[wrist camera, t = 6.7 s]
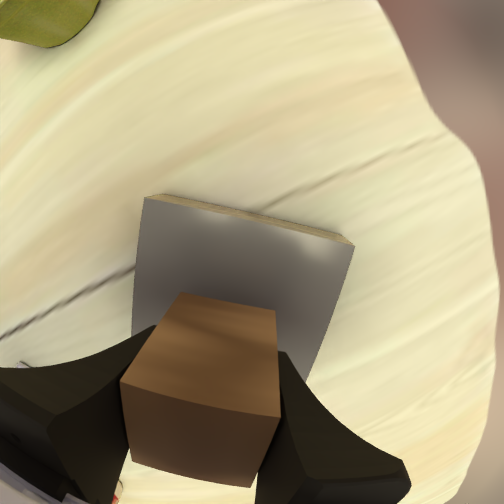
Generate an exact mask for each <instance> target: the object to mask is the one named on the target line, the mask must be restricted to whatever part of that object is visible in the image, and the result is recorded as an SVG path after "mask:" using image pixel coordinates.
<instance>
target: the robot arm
mask: <svg viewBox="0 0 504 504" xmlns="http://www.w3.org/2000/svg"><path fill="white" fill-rule="evenodd" d="M156 326H157V325H152V326H150V327H148V328H146V329H145V330H143V331H141V332H139V333H138V334H136V335H134V336H132V337H130V338H128V339H127V340H125V341H123V342H121V343H119V344H117V345H114V346H112V347H110V348H108V349H106V350H104V351H101V352H99V353H96V354H94V355H91V356H88V357H85V358H82V359H79V360H75V361H71V362H66V363H62V364H57V365H52V366H44V367H34V368H30V367H28V366H26V365H24V364H23V363H21V362H19V363H17V368H1V367H0V504H112V501H113V497H114V494H115V490H116V487H117V483H118V480H119V476H120V473H121V470H122V467H123V464H124V461H125V458H126V455H127V453H128V450H129V443H128V437H127V432H126V426H125V420H124V413H123V406H122V398H121V390H120V380H121V378H122V377H123V375H124V374H125V372H126V371H127V369H128V368H129V366H130V365H131V363H132V362H133V360H134V359H135V357H136V356H137V354H138V353H139V351H140V350H141V348H142V347H143V345H144V344H145V342H146V341H147V339H148V338H149V337H150V335H151V334H152V332H153V331H154V329H155V328H156ZM278 369H279V390H280V413H281V418H280V420H279V423H278V425H277V428H276V430H275V433H274V435H273V438H272V440H271V442H270V445H269V447H268V450H267V452H266V454H265V457H264V459H263V461H262V463H261V466H260V468H259V470H258V476H257V486H256V496H255V504H397V503H398V502H399V501H400V500H402V499H403V498H404V497H405V495H406V494H407V493H408V492H409V490H410V488H411V486H412V485H411V481H410V478H409V475H408V473H407V470H406V468H405V465H404V463H403V461H402V460H401V459H399V458H397V457H394V456H392V455H390V454H388V453H386V452H384V451H382V450H380V449H378V448H376V447H375V446H373V445H371V444H370V443H368V442H366V441H365V440H363V439H362V438H360V437H359V436H357V435H356V434H355V433H353V432H352V431H351V430H349V429H348V428H347V427H346V426H344V425H343V424H342V423H341V422H340V421H338V420H337V419H336V418H335V417H334V416H333V415H332V414H331V413H330V412H329V411H328V410H327V409H326V408H325V407H324V406H323V405H322V404H321V403H320V401H319V400H318V399H317V398H316V397H315V395H314V394H313V393H312V392H311V390H310V389H309V388H308V386H307V385H306V383H305V382H304V380H303V379H302V377H301V376H300V374H299V373H298V371H297V370H296V368H295V366H294V365H293V363H292V361H291V359H290V358H289V356H288V354H287V353H286V352H283V351H278ZM466 504H469V503H466Z"/></svg>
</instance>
